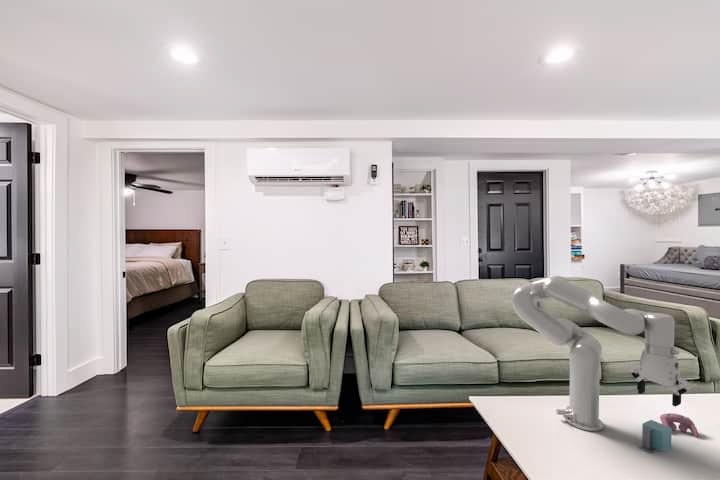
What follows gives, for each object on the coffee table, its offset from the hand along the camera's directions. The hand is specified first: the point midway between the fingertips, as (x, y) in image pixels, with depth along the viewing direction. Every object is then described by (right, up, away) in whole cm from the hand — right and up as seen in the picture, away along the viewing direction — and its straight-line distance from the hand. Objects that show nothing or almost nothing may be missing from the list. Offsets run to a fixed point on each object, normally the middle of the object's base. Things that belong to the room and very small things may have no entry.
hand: (658, 398), depth 117 cm
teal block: (0, -16, 0) cm, 16 cm away
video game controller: (+15, -16, +8) cm, 24 cm away
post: (-5, -16, -2) cm, 17 cm away
